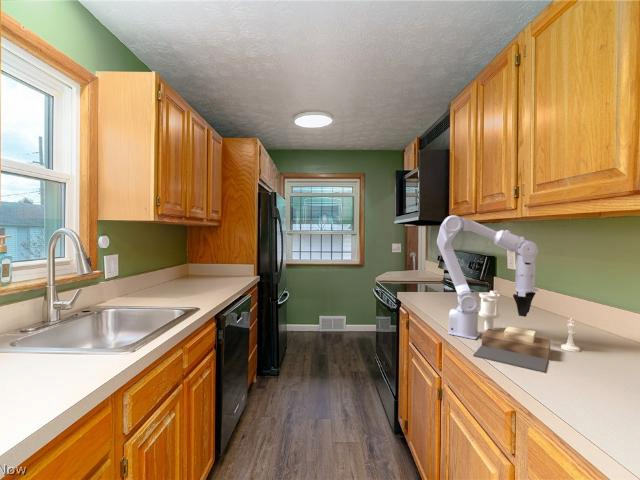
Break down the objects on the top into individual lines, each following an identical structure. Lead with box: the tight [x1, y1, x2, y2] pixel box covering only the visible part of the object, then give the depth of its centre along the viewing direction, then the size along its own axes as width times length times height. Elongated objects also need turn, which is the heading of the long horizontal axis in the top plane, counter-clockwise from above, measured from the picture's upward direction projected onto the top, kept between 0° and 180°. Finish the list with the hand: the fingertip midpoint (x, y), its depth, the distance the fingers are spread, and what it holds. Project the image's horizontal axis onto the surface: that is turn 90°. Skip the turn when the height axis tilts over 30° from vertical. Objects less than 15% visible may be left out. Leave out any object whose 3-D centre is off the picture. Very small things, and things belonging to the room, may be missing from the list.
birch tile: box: [503, 325, 536, 343], centre depth 106 cm, size 8×6×2 cm
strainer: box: [478, 290, 501, 332], centre depth 125 cm, size 7×7×15 cm
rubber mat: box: [472, 344, 549, 374], centre depth 98 cm, size 18×10×1 cm, turn 52°
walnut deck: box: [481, 328, 551, 360], centre depth 106 cm, size 18×10×4 cm, turn 52°
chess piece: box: [560, 318, 580, 353], centre depth 106 cm, size 5×5×10 cm
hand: (523, 314), depth 113 cm, fingers open, 6 cm apart
